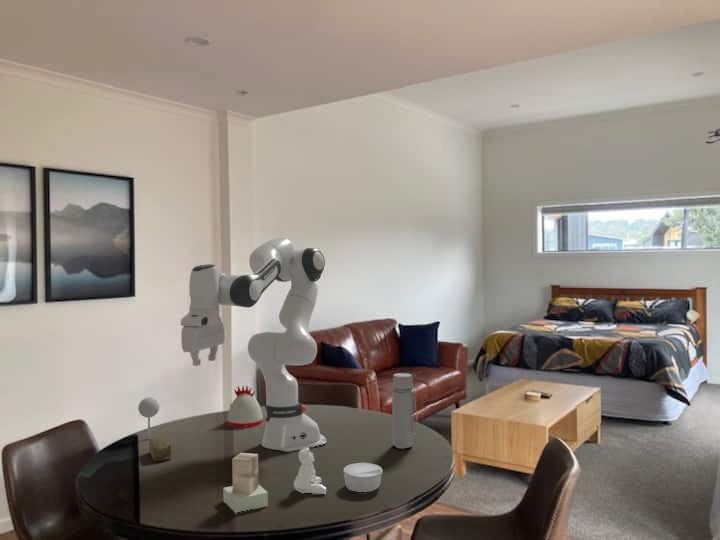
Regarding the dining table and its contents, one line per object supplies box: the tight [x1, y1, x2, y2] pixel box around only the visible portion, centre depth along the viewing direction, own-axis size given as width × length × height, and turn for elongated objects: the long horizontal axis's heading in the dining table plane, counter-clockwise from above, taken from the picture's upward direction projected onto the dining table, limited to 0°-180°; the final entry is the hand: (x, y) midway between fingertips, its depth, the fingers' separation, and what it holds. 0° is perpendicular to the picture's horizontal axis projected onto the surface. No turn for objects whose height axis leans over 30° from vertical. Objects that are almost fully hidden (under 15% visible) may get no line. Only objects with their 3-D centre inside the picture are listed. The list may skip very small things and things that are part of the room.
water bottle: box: [391, 372, 419, 446], centre depth 206 cm, size 9×8×25 cm
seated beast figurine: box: [293, 448, 327, 495], centre depth 168 cm, size 10×9×12 cm
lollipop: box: [138, 397, 160, 440], centre depth 215 cm, size 7×7×15 cm
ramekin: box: [343, 462, 383, 492], centre depth 170 cm, size 11×11×5 cm
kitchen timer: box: [226, 385, 264, 428], centre depth 237 cm, size 14×14×15 cm
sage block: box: [222, 483, 269, 514], centre depth 159 cm, size 9×9×4 cm
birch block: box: [231, 452, 259, 495], centre depth 158 cm, size 5×5×9 cm
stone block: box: [148, 437, 172, 462], centre depth 197 cm, size 6×12×5 cm, turn 26°
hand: (204, 362), depth 183 cm, fingers open, 8 cm apart
